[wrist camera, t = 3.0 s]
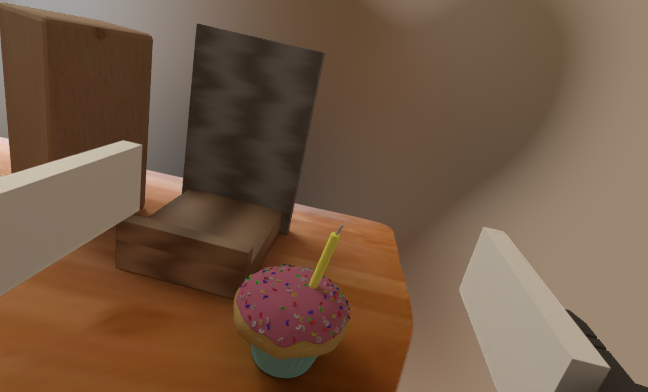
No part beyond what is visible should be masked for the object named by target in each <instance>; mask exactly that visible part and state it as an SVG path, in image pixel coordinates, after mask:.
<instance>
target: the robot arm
mask: <svg viewBox="0 0 648 392" xmlns="http://www.w3.org/2000/svg"><path fill="white" fill-rule="evenodd" d="M141 163H142V145H141V144H137V143H132V142H128V141H124V140H123V141H119V142H116V143H113V144H109V145H106V146H103V147H99V148H96V149H93V150H89V151H86V152H83V153H79V154H76V155H73V156H69V157H66V158H63V159H59V160H56V161H53V162H49V163H46V164H43V165H39V166H36V167H33V168H29V169H26V170H23V171H19V172H16V173H12V174H9V175H6V176H2V177H0V296H2V295H3V294H5V293H6V292H8V291H10V290H11V289H13V288H15V287H16V286H18V285H19V284H21V283H23V282H24V281H26V280H28V279H29V278H31V277H32V276H34V275H36V274H37V273H39V272H40V271H42V270H44V269H45V268H47V267H49V266H50V265H52V264H53V263H55V262H57V261H58V260H60V259H61V258H63V257H65V256H66V255H68V254H70V253H71V252H73V251H74V250H76V249H78V248H79V247H81V246H83V245H84V244H86V243H87V242H89V241H91V240H92V239H94V238H95V237H97V236H99V235H100V234H102V233H104V232H105V231H107V230H108V229H110V228H112V227H113V226H115V225H117V224H118V223H120V222H121V221H123V220H125V219H126V218H128V217H129V216H131V215H133V214H134V213H136V212H138V211H139V210H140V187H141ZM459 291H460V294H461V297H462V299H463V302H464V305H465V307H466V310H467V312H468V315H469V318H470V321H471V323H472V326H473V328H474V331H475V334H476V336H477V339H478V342H479V344H480V347H481V350H482V352H483V355H484V358H485V360H486V363H487V366H488V368H489V371H490V374H491V376H492V378H493V382H494V384H495V387H496V389H497V392H648V387H645V386H642V385H639V384H635V383H634V381H633V380H632V379H631V378H630V377H629V375H627V373H626V372H625V371H624V369H623V368H622V367H621V366H620V364H619V363H618V362H617V361H616V360H615V358H614V357H613V356H612V355H611V353H610V352H609V351H606V347H605V346H604V345H603V344H602V343H601V341H600V340H599V339H597V336H596V335H595V334H594V333H593V331H592V330H591V329H590V328H589V327H588V325H587V324H586V323H585V322H584V321H582V320H581V319H580V318H578V317H577V316H576V315H575V314H574V313H572V312H571V311H570V310H566V309H564V308H563V306H562V305H561V304H560V302H559V301H558V300H557V299H556V297H555V296H554V295H553V294H552V292H551V291H550V290H549V288H548V287H547V286H546V285H545V283H544V282H543V281H542V280H541V278H540V277H539V276H538V274H537V273H536V272H535V270H534V269H533V268H532V267H531V265H530V264H529V263H528V262H527V260H526V259H525V258H524V256H523V255H522V254H521V252H520V251H519V250H518V249H517V247H516V246H515V245H514V244H513V243H512V241H511V240H510V238H509V237H508V236H507V235H506V233H505V232H503V231H499V230H495V229H490V228H486V227H483V230H482V232H481V235H480V237H479V240H478V242H477V245H476V247H475V250H474V252H473V255H472V258H471V260H470V263H469V265H468V268H467V270H466V273H465V275H464V278H463V281H462V283H461V286H460V288H459Z"/></svg>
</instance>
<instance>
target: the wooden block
mask: <svg viewBox="0 0 648 392" xmlns="http://www.w3.org/2000/svg"><path fill="white" fill-rule="evenodd" d="M0 36H1V49H2V61H3V73H4V86H5V98H6V109H7V121H8V134H9V146H10V159H11V171H12V173H16V172H19V171H23V170H26V169H29V168H33V167H36V166H39V165H43V164H46V163H49V162H53V161H56V160H59V159H63V158H66V157H69V156H73V155H76V154H79V153H83V152H86V151H89V150H93V149H96V148H99V147H103V146H106V145H109V144H113V143H116V142H119V141H123V140H124V141H128V142H132V143H137V144H141V145H142V163H141V187H140V208H143V207H144V204H145V184H146V163H147V144H148V124H149V105H150V85H151V64H152V45H153V39H152V36H150V35H149V34H147V33H143V32H140V31H136V30H132V29H128V28H125V27H122V26H118V25H115V24H111V23H107V22H104V21H100V20H95V19H89V18H84V17H78V16H73V15H67V14H62V13H56V12H51V11H46V10H41V9H35V8H30V7H24V6H18V5H14V4H8V3H0Z"/></svg>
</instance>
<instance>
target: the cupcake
mask: <svg viewBox="0 0 648 392" xmlns="http://www.w3.org/2000/svg"><path fill="white" fill-rule="evenodd" d="M343 226H344V225H340V227H339V228H338V230H337V232H332V233H331V235H330V238H329V240H328V242H327V244H326V247H325V249H324V251H323V253H322V256H321V258H320V260H319V262H318V265H317V267H316V269H315V271H314V270H311V269H312V268H304V267H302V266H301V267H299V266H291V265H289V266H287V265H285V264H283V265H279V266H274V267H268V268H265V269H263V270H261V271H259V272H257V273H255V274H251V275H250V276H249V278H246V279H247V280H246V279H245V280H244V282H243V283H242V284H241V286H239V287H240V288H239V289H238V291H237V292H236V295H235V298H234V320H233V322H234V326H235V328H236V329H237V331H238V332H239V334H240V335H241V336H242V337H243V338H244V339H245V340H246V341H248V342H249V343H250V345H251V350H252V356H253V359H254V361H255V363H256V365H257V366H258V367H259V368H260V369H261V370H262V371H264V372H265V373H267V374H269V375H271V376H274V377H278V378H293V377H297V376H300V375H302V374H303V373H305V372H306V371H307V370H308V369H309V368H310V367H311V365H312V364H313V362H314V361H315V359H316V358H317V357H318V356H320V355H324V354H327V353H329V352H331V351H333V350H334V349H335V348H336V347H337V346H338V344H339V343H340V342H341V340H342V339H343V338H344V336H345V333H346V330H347V326H348V323H349V319H350V317H349V315H350V306H349V305H350V304H348V301H347V300H345V298H344V297H345V296H344V295H343V294H342V293H341V292H340V288H338V287H337V285H335V284H333V283H332V282H331V280H330V279H328V278H327V277H326V276H324V275H323V274H324V272H325V270H326V268H327V265H328V263H329V261H330V259H331V257H332V254H333V252H334V250H335V248H336V245H337V243H338V241H339V239H340V235H339V233H340V231H341V229H342V227H343ZM347 304H348V306H347ZM348 307H349V308H348Z"/></svg>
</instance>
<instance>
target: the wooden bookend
mask: <svg viewBox="0 0 648 392" xmlns="http://www.w3.org/2000/svg"><path fill="white" fill-rule="evenodd" d="M324 55H325V53H322V52H318V51H314V50H310V49H305V48H301V47H296V46H292V45H288V44H284V43H279V42H275V41H271V40H266V39H262V38H258V37H253V36H249V35H245V34H240V33H236V32H232V31H227V30H223V29H219V28H215V27H210V26H206V25H202V24H197V27H196V39H195V50H194V62H193V73H192V85H191V96H190V107H189V119H188V131H187V142H186V153H185V164H184V177H183V187H182V194H181V195H180V196H178V197H177V198H175V199H174V200H173V201H171V202H170V203H168V204H167V205H165V206H164V207H162V208H161V209H159V210H158V211H156V212H155V213H154V214H152V215H151V216H149V217H148V218H146V217H142V216H138V215H134V214H133V215H131V216H129V217H128V218H126V219H125V220H123V221H121V222H120V223H118V224H117V225H116V268H119V269H123V270H126V271H130V272H134V273H138V274H142V275H145V276H149V277H153V278H157V279H160V280H164V281H168V282H172V283H176V284H179V285H183V286H187V287H191V288H194V289H198V290H202V291H206V292H210V293H213V294H217V295H221V296H225V297H228V298H232V299H234V298H235V295H236V292H237V291H238V289H239V288H240V287H239V286H241V284H242V283H243V282H244V280H245V279H246V278H249V276H250V275H251V274H255V273H257V271H258V269H259V268H260V266H261V264H262V262H263V260H264V259H265V257H266V255H267V253H268V252H269V250H270V248H271V246H272V244H273V243H274V241H275V239H276V237H277V236H278V234H279V233H280V234H284V235H287V233H288V231H289V228H290V223H291V218H292V213H293V208H294V203H295V198H296V193H297V188H298V183H299V179H300V174H301V168H302V164H303V159H304V154H305V149H306V144H307V139H308V134H309V129H310V124H311V119H312V114H313V110H314V105H315V100H316V95H317V90H318V85H319V80H320V75H321V70H322V64H323V60H324ZM246 280H247V279H246Z"/></svg>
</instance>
